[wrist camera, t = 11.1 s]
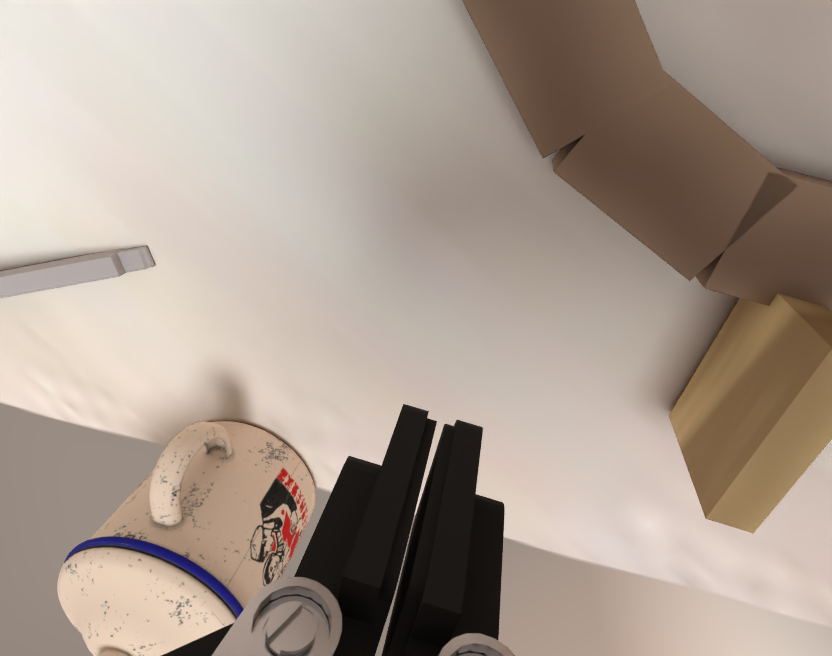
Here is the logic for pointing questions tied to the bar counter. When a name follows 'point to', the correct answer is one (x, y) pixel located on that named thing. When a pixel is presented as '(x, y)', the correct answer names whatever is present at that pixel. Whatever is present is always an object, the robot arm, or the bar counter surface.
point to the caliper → (73, 271)
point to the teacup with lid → (189, 542)
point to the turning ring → (690, 234)
